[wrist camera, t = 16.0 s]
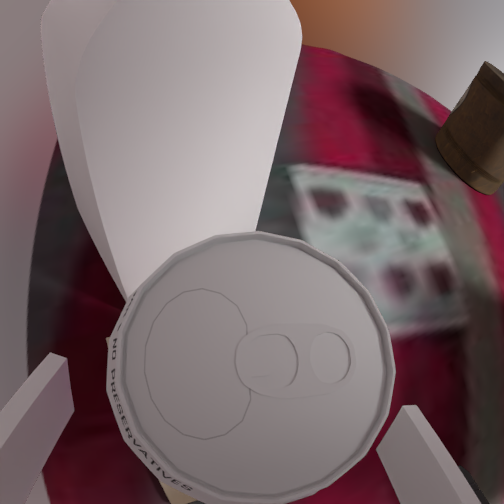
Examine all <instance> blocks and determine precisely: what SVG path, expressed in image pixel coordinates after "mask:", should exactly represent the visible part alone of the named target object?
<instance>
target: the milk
mask: <svg viewBox="0 0 504 504" xmlns="http://www.w3.org/2000/svg"><path fill="white" fill-rule="evenodd" d="M301 42H302V31H301V24H300V21H299V19H298V16H297V13H296V11H295V10H294V8H293V6H292V4H291V3H290V1H289V0H50V2H49V4H48V6H47V7H46V9H45V11H44V13H43V15H42V17H41V43H42V52H43V60H44V68H45V75H46V81H47V87H48V93H49V99H50V104H51V109H52V115H53V119H54V124H55V129H56V133H57V137H58V142H59V146H60V150H61V154H62V157H63V161H64V165H65V169H66V172H67V176H68V179H69V183H70V186H71V189H72V193H73V196H74V199H75V202H76V205H77V208H78V210H79V213H80V215H81V217H82V219H83V221H84V223H85V225H86V228H87V230H88V232H89V234H90V236H91V238H92V240H93V242H94V244H95V246H96V248H97V250H98V252H99V254H100V256H101V258H102V259H103V261H104V263H105V265H106V267H107V269H108V271H109V273H110V274H111V276H112V278H113V280H114V282H115V283H116V285H117V287H118V289H119V291H120V292H121V294H122V296H123V298H124V299H125V301H126V302H127V300H128V298H129V296H130V295H131V294H132V293H133V292H134V291H135V290H136V289H137V288H138V287H139V286H140V285H141V284H142V283H143V282H144V281H145V280H146V279H147V278H148V277H149V276H150V275H151V274H152V273H153V272H154V271H155V270H156V269H158V268H159V267H160V266H161V265H162V264H163V263H164V262H165V261H166V260H167V259H168V258H169V257H170V256H171V255H172V254H174V253H176V252H178V251H180V250H182V249H185V248H187V247H189V246H191V245H194V244H196V243H198V242H200V241H203V240H205V239H207V238H210V237H212V236H214V235H221V234H232V233H243V232H254V231H255V230H256V226H257V222H258V218H259V214H260V210H261V206H262V202H263V198H264V194H265V190H266V186H267V182H268V178H269V174H270V170H271V166H272V162H273V158H274V154H275V150H276V146H277V142H278V138H279V134H280V130H281V126H282V122H283V118H284V114H285V110H286V106H287V102H288V98H289V94H290V90H291V86H292V82H293V78H294V74H295V70H296V66H297V62H298V58H299V54H300V50H301Z"/></svg>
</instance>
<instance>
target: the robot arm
mask: <svg viewBox="0 0 504 504" xmlns="http://www.w3.org/2000/svg"><path fill="white" fill-rule="evenodd" d="M73 412H74V404H73V398H72V392H71V386H70V378H69V371H68V362H67V358H65V357H62V356H59V355H56V354H53V353H51V352H50V353H49V354H48V355H47V356H46V358H45V359H44V360H43V361H42V362H41V363H40V364H39V366H38V367H37V368H36V369H35V370H34V371H33V372H32V374H31V375H30V376H29V377H28V378H27V379H26V381H25V382H24V383H23V384H22V385H21V387H20V388H19V389H18V390H17V391H16V393H15V394H14V395H13V396H12V397H11V399H10V400H9V401H8V402H7V404H6V405H5V406H4V407H3V409H2V410H1V411H0V504H25V502H26V500H27V498H28V496H29V494H30V492H31V490H32V488H33V486H34V484H35V482H36V480H37V478H38V476H39V474H40V472H41V470H42V468H43V466H44V465H45V463H46V461H47V459H48V457H49V455H50V453H51V451H52V450H53V448H54V446H55V444H56V442H57V440H58V439H59V437H60V435H61V433H62V431H63V430H64V428H65V426H66V424H67V423H68V421H69V419H70V417H71V416H72V414H73ZM376 451H377V453H378V455H379V457H380V459H381V461H382V464H383V466H384V468H385V470H386V472H387V475H388V477H389V479H390V481H391V483H392V486H393V488H394V490H395V492H396V495H397V497H398V499H399V501H400V504H489V502H488V501H487V499H486V498H485V496H484V495H483V493H482V491H481V490H479V487H478V485H477V484H476V483H475V481H474V479H473V478H472V476H471V475H470V473H469V472H468V471H467V470H466V469H464V468H463V467H462V466H461V465H460V466H457V465H456V463H455V461H454V460H453V458H452V457H451V455H450V454H449V452H448V451H447V449H446V448H445V446H444V445H443V443H442V442H441V440H440V439H439V437H438V436H437V434H436V433H435V431H434V430H433V429H432V427H431V426H430V424H429V423H428V421H427V420H426V418H425V417H424V415H423V414H422V412H421V411H420V410H419V408H418V407H417V405H407V406H402V408H401V409H400V411H399V413H398V415H397V416H396V418H395V420H394V421H393V423H392V425H391V426H390V428H389V430H388V431H387V433H386V434H385V436H384V438H383V439H382V441H381V442H380V444H379V445H378V447H377V448H376Z"/></svg>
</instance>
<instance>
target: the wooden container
mask: <svg viewBox="0 0 504 504" xmlns="http://www.w3.org/2000/svg"><path fill="white" fill-rule="evenodd" d="M435 141H436V145H437V147H438V149H439V151H440V153H441V155H442V156H443V158H444V159H445V161H446V162H447V163H448V165H449V166H450V167H451V168H452V169H453V170H454V171H455V173H456V174H457V175H458V176H459V177H460V178H462V179H463V180H464V181H465V182H466V183H467V184H469V185H470V186H471V187H473V188H474V189H476V190H477V191H479V192H481V193H484V194H487V195H490V194H493V193H494V192H495V191H496V190H497V189H498V188H499V187H500V186H501V185H502V183H503V182H504V73H502V72H501V71H500V70H499V69H497V68H496V67H494V66H493V65H492V64H490V63H488V62H486V61H485V62H484V63H483V65H482V66H481V68H480V71H479V72H478V74H477V76H475V78H474V79H473V81H472V83H471V84H470V85H469V87H468V89H467V90H466V92H465V93H464V95H463V96H462V97H461V99H460V100H459V102H458V103H457V105H456V106H455V108H454V109H453V111H452V112H451V114H450V115H449V117H448V118H447V120H446V122H445V123H444V125H443V126H442V128H441V129H440V131H439V132H438V134H437V135H436V139H435Z"/></svg>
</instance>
